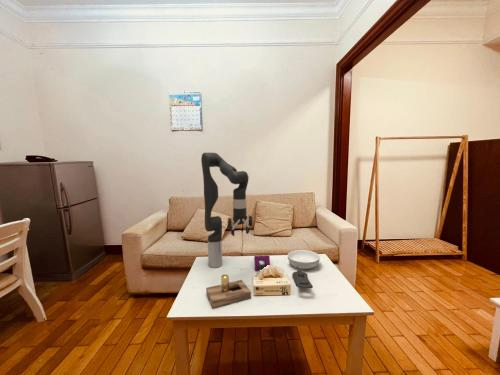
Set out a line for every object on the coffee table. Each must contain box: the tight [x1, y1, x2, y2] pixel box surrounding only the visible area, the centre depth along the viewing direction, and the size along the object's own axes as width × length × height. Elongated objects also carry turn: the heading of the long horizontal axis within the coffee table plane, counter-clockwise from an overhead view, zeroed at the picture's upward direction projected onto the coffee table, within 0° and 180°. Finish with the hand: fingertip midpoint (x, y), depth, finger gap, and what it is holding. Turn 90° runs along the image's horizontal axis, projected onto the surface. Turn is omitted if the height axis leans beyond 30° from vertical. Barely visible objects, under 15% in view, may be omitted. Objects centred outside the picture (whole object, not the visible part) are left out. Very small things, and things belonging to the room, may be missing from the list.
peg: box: [220, 274, 230, 292], centre depth 121 cm, size 4×4×11 cm
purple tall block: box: [253, 255, 271, 271], centre depth 157 cm, size 9×8×18 cm
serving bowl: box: [287, 249, 321, 270], centre depth 156 cm, size 21×21×7 cm
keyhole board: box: [205, 279, 252, 310], centre depth 122 cm, size 13×20×4 cm, turn 114°
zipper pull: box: [291, 267, 314, 289], centre depth 132 cm, size 9×7×25 cm
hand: (240, 234), depth 135 cm, fingers open, 8 cm apart
